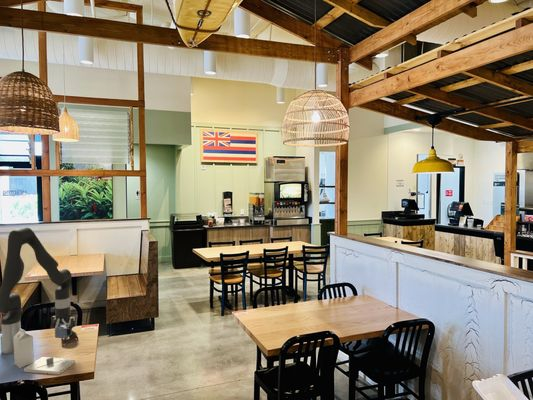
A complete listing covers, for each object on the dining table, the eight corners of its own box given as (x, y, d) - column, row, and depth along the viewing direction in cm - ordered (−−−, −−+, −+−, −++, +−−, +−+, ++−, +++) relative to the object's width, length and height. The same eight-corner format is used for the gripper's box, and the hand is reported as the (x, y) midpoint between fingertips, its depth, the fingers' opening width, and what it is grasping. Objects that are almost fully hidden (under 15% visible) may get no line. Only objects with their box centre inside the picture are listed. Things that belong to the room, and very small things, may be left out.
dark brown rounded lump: (82, 340, 236) (79, 332, 232) (69, 352, 229) (65, 344, 225) (69, 332, 241) (66, 324, 236) (56, 343, 234) (52, 335, 229)
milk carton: (29, 359, 212) (27, 325, 211) (34, 363, 207) (32, 329, 206) (14, 364, 206) (12, 329, 205) (19, 368, 202) (17, 333, 201)
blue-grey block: (55, 337, 212) (54, 328, 211) (62, 333, 218) (62, 324, 217) (65, 338, 211) (64, 329, 210) (72, 333, 217) (71, 325, 216)
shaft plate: (24, 371, 199) (23, 362, 198) (42, 359, 211) (41, 351, 211) (58, 374, 196) (58, 365, 195) (75, 362, 208) (74, 353, 208)
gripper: (46, 307, 210) (47, 336, 211) (70, 308, 208) (71, 338, 209) (55, 302, 218) (56, 331, 219) (78, 304, 215) (79, 332, 217)
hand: (63, 334), depth 214 cm, fingers closed on blue-grey block, 6 cm apart
